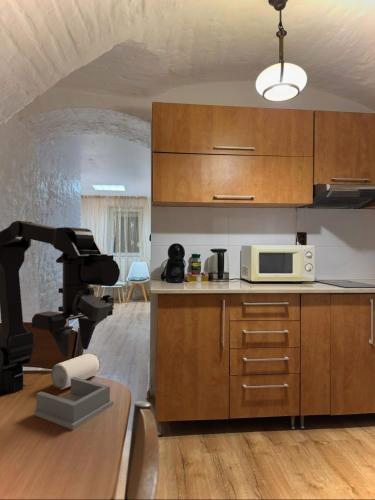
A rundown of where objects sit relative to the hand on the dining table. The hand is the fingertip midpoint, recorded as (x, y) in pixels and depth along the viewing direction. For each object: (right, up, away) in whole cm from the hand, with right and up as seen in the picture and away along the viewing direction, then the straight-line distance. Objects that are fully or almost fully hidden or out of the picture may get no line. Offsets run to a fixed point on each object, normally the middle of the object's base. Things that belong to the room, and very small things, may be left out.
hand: (75, 352), depth 75 cm
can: (-8, -10, +10) cm, 16 cm away
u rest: (0, -13, 0) cm, 13 cm away
